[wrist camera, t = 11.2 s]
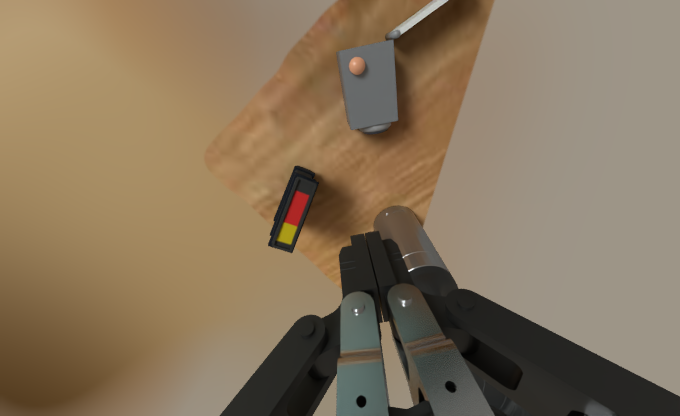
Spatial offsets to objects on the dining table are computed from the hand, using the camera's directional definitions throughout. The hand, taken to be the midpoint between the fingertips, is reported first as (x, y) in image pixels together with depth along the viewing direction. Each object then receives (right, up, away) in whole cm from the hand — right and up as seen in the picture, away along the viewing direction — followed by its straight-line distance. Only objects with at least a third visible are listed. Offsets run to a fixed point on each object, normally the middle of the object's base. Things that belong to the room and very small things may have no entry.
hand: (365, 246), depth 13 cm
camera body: (+2, +21, +26) cm, 34 cm away
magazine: (-10, +6, +34) cm, 36 cm away
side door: (+10, +30, +21) cm, 38 cm away
